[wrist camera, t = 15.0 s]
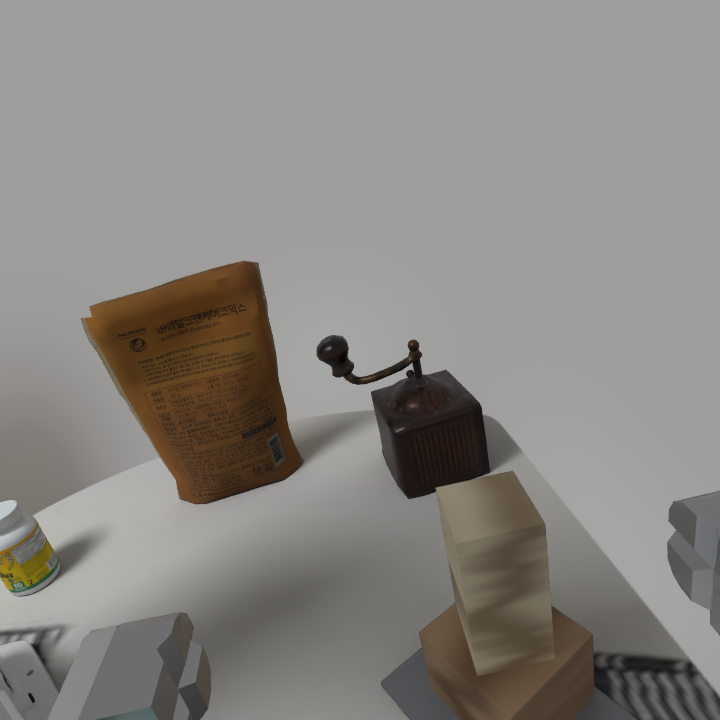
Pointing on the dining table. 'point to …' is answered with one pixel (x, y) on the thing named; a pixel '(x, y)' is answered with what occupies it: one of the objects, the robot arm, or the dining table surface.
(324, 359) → the manual coffee grinder
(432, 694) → the mat
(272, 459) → the pancake mix bag
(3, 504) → the supplement bottle
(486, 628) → the oak column
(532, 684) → the walnut block
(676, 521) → the robot arm
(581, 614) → the dining table surface
